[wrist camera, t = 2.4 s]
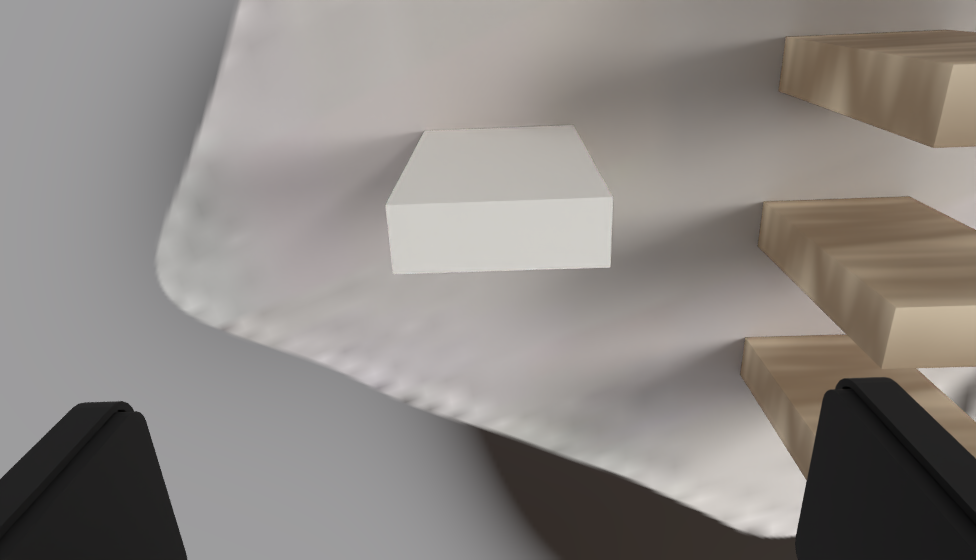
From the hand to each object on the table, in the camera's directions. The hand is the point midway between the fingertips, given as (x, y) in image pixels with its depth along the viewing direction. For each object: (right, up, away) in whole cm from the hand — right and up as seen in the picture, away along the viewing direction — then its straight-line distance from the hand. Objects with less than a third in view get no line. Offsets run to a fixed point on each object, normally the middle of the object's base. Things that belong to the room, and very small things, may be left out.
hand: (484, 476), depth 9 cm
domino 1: (+14, +11, +16) cm, 24 cm away
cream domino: (0, +8, +18) cm, 19 cm away
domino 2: (+15, +5, +19) cm, 24 cm away
